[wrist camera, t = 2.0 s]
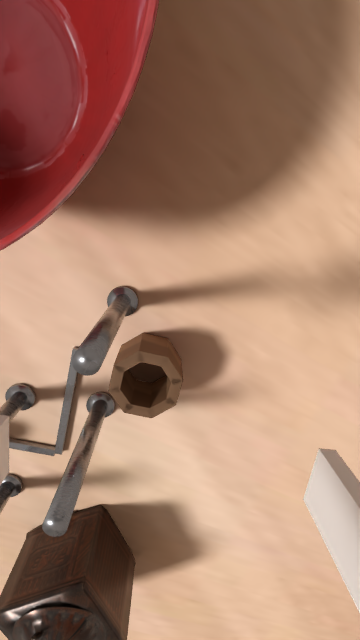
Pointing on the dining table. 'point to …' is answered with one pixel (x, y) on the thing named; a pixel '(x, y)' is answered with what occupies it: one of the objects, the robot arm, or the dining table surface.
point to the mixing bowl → (62, 97)
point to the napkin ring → (143, 394)
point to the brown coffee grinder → (70, 583)
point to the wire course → (98, 406)
